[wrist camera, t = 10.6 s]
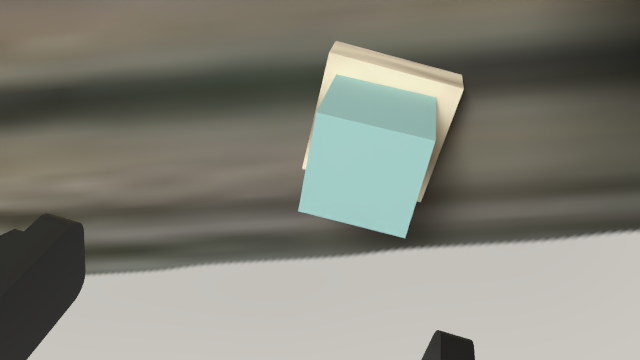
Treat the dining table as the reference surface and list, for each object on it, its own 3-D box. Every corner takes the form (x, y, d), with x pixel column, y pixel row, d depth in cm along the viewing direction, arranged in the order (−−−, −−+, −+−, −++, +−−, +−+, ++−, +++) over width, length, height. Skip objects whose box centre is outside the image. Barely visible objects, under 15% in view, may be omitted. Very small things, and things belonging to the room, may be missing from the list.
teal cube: (336, 74, 32) (316, 112, 27) (436, 97, 32) (435, 140, 26) (319, 161, 35) (298, 211, 30) (410, 184, 35) (405, 238, 29)
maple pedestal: (337, 38, 34) (329, 52, 31) (461, 72, 34) (463, 89, 31) (311, 148, 38) (302, 168, 36) (421, 180, 38) (420, 202, 35)
